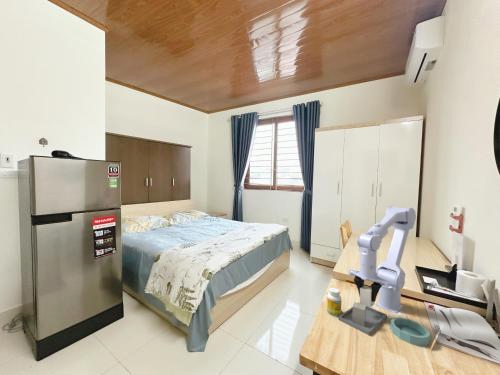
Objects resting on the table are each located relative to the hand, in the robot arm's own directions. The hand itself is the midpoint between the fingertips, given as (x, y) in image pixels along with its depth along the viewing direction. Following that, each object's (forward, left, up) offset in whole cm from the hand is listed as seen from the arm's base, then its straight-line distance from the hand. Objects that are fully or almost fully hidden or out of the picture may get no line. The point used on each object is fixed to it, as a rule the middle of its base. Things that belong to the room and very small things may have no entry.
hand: (367, 298), depth 85 cm
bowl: (0, +14, -7) cm, 16 cm away
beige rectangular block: (0, 0, -2) cm, 2 cm away
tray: (+4, 0, -7) cm, 8 cm away
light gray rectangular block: (+7, 0, -7) cm, 10 cm away
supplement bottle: (+9, -9, -7) cm, 15 cm away
